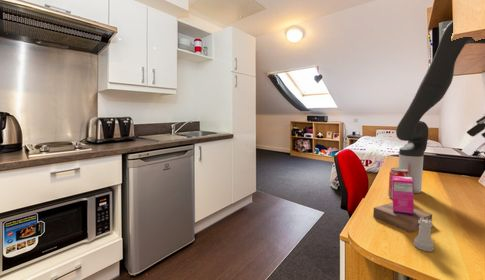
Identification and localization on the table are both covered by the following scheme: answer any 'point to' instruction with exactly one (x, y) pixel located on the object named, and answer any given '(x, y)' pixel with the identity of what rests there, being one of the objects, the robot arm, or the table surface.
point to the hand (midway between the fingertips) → (476, 135)
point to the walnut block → (400, 217)
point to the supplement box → (403, 195)
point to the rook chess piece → (424, 236)
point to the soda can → (396, 172)
